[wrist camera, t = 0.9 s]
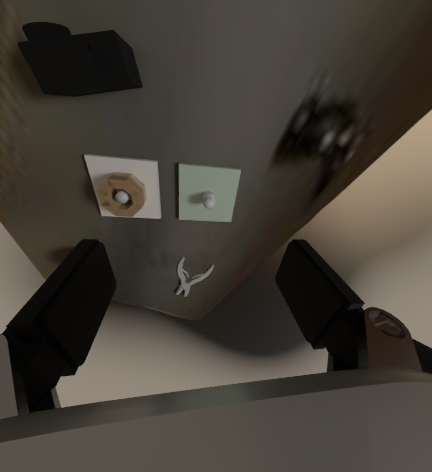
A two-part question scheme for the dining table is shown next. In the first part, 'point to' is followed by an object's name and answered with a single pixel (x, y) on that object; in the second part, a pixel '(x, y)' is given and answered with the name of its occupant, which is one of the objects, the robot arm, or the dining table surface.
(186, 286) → the pliers
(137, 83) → the digital camera
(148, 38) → the dining table surface
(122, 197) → the stand
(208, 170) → the plate
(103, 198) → the collar
